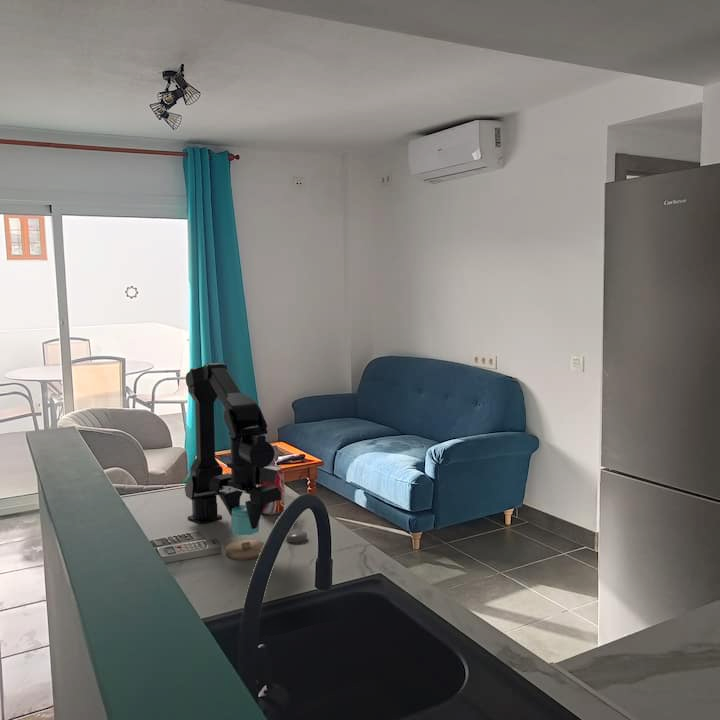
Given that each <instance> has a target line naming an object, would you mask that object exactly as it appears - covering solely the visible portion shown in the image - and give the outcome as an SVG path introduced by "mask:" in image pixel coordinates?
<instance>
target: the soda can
mask: <svg viewBox="0 0 720 720" xmlns="http://www.w3.org/2000/svg"><path fill="white" fill-rule="evenodd" d="M264 468H269V469H273V470H277V471H278V472H277V477H276V481H275V484H272V483H270V482H265V481H264V484H261V485H257V487H260V486H264V485H267V484H269V485H272V486H276V487H278V488H279V489H280V490H281V500H277V501H274V502H271V503H268V504H266V505H265V506H264V509H263V511H262V514H263V513H264V514H263V515H267V514H268V515H269V516H270V515H271V516H272V515H278V514H280V513H281V512H283V510H284V509H285V474H284V472H283V470H282V467H281V466H280V465H277V464H275V465H274V464H269V465H268V466H266V467H264Z"/></svg>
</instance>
